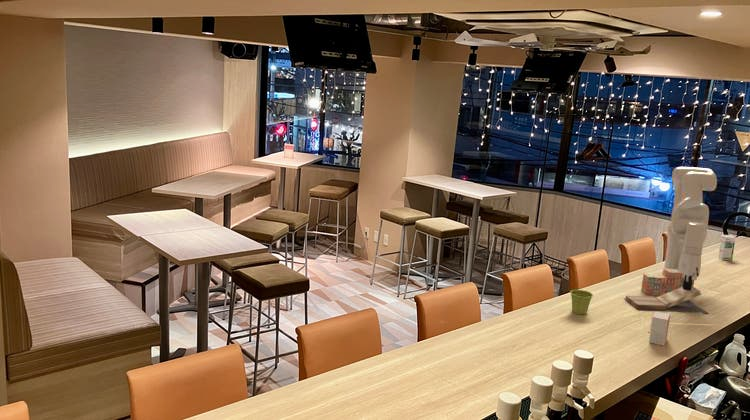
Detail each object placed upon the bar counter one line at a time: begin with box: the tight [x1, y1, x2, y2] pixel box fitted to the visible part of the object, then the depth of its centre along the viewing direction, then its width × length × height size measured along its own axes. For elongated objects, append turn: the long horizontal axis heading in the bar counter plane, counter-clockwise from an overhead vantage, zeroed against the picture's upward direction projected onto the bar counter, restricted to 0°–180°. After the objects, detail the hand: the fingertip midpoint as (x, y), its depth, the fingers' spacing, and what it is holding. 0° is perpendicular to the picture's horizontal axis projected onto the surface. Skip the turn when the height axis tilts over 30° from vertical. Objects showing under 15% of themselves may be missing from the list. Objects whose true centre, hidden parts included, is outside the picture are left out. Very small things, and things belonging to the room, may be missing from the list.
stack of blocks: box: [640, 268, 695, 296], centre depth 284 cm, size 21×6×12 cm, turn 85°
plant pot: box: [569, 289, 594, 315], centre depth 255 cm, size 9×9×9 cm
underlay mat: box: [623, 297, 709, 315], centre depth 268 cm, size 16×31×1 cm, turn 91°
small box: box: [648, 311, 671, 347], centre depth 227 cm, size 8×6×10 cm
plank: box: [655, 286, 702, 308], centre depth 267 cm, size 16×9×2 cm, turn 92°
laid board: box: [624, 295, 667, 310], centre depth 267 cm, size 12×13×2 cm
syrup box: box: [718, 234, 736, 261], centre depth 355 cm, size 6×6×14 cm
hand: (686, 289), depth 266 cm, fingers closed
